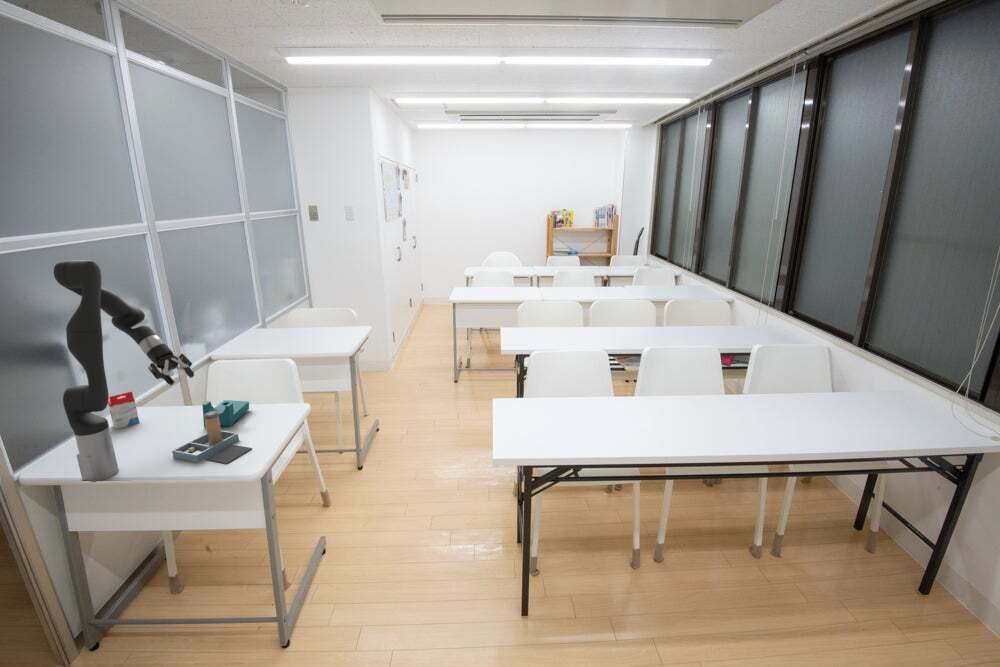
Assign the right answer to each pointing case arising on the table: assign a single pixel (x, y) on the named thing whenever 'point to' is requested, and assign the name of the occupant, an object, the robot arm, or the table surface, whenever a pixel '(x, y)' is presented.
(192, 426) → the table surface
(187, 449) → the parts tub
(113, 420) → the ink box
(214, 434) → the brown canister
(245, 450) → the black mat
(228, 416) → the teal notched block
